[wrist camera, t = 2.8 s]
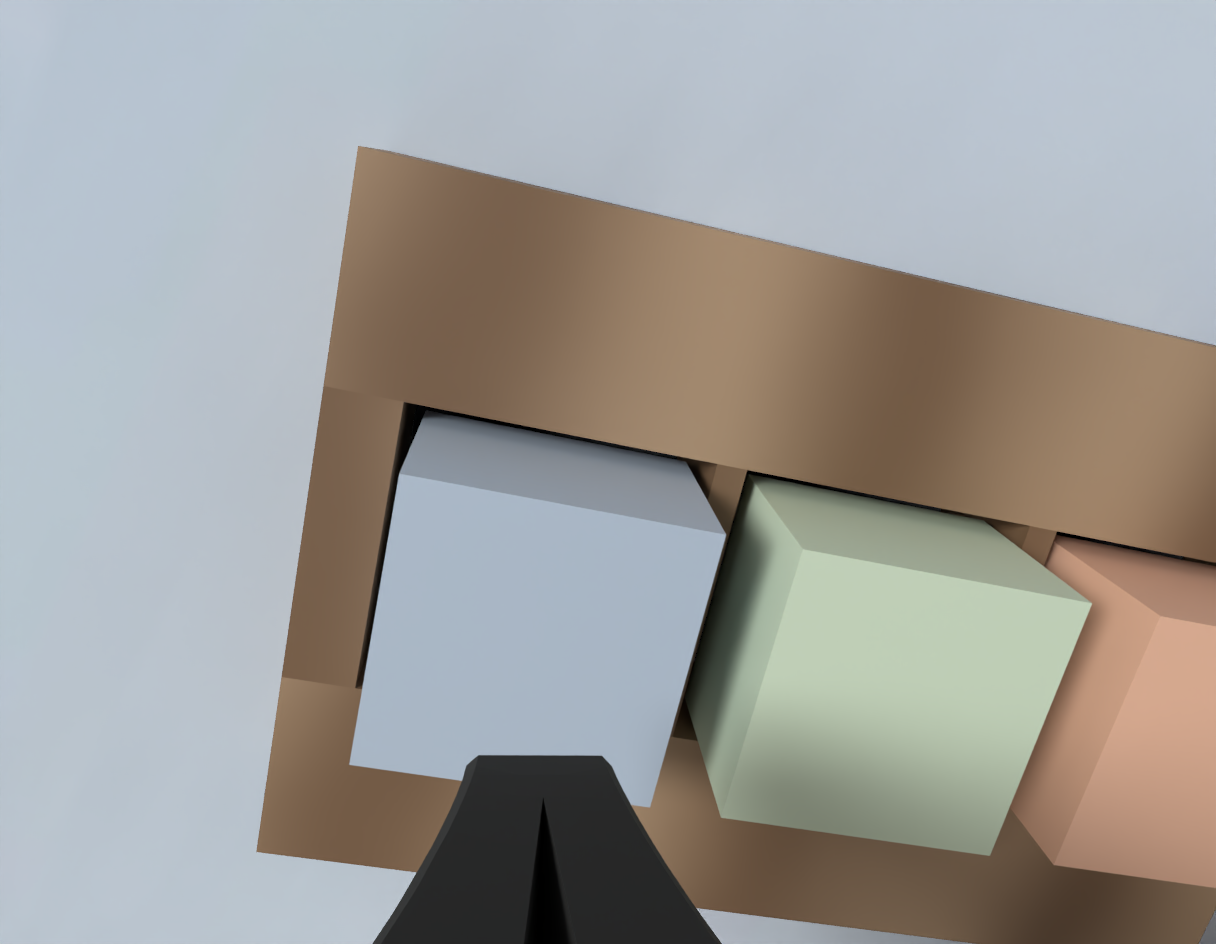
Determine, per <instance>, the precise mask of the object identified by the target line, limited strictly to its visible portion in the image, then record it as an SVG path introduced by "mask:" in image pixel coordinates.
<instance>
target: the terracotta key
mask: <svg viewBox="0 0 1216 944" xmlns="http://www.w3.org/2000/svg"><path fill="white" fill-rule="evenodd" d="M1044 567H1045V568H1046V569H1048V570H1049V571H1050V572H1052V573H1053V574H1054V575H1056V576H1057V577H1058V578H1060V579H1061V580H1062V581H1064V582H1065V583H1066V584H1067V585H1069V586H1070V587H1071V588H1073V589H1074V590H1075V591H1077V592H1078V593H1079V594H1081V595H1082V596H1083V597H1085V598H1086V599H1087V600H1089V601H1090V602H1091V603H1092V605H1091V608H1090V610H1089V613H1088V615H1087V618H1086V620H1085V622H1084V625H1083V627H1082V630H1081V632H1080V635H1079V637H1078V640H1077V642H1076V645H1075V647H1074V650H1073V652H1072V655H1071V657H1070V659H1069V662H1068V664H1067V667H1066V669H1065V672H1064V674H1063V677H1062V679H1061V682H1060V684H1059V687H1058V689H1057V692H1056V694H1055V696H1054V699H1053V701H1052V704H1051V706H1050V709H1049V711H1048V714H1047V716H1046V719H1045V721H1044V724H1043V726H1042V729H1041V731H1040V734H1039V736H1038V738H1037V741H1036V743H1035V746H1034V748H1033V751H1032V753H1031V756H1030V758H1029V761H1028V763H1027V766H1026V768H1025V771H1024V773H1023V775H1022V778H1021V780H1020V783H1019V785H1018V788H1017V790H1016V793H1015V795H1014V798H1013V800H1012V803H1011V805H1010V808H1011V810H1012V811H1013V812H1014V814H1015V815H1016V816H1017V818H1018V819H1019V820H1020V822H1021V823H1022V824H1023V825H1024V827H1025V828H1026V829H1027V831H1028V832H1029V833H1030V835H1031V836H1032V837H1033V839H1034V840H1035V841H1036V843H1037V844H1038V845H1039V846H1040V848H1041V849H1042V850H1043V852H1044V853H1045V854H1046V856H1047V857H1048V858H1049V860H1050V861H1051V862H1052V864H1053V865H1057V866H1064V867H1071V868H1078V869H1085V870H1092V871H1099V872H1106V873H1114V874H1121V875H1128V876H1135V877H1142V878H1149V879H1156V880H1163V881H1170V882H1177V883H1184V884H1191V885H1198V886H1205V887H1212V888H1216V566H1211V565H1206V564H1201V563H1196V562H1191V561H1186V560H1181V559H1176V558H1171V557H1166V556H1161V555H1156V554H1150V553H1145V552H1140V551H1135V550H1130V549H1125V548H1120V547H1115V546H1110V545H1105V544H1100V543H1095V542H1090V541H1085V540H1080V539H1075V538H1069V537H1064V536H1059V535H1055V538H1054V541H1053V543H1052V546H1051V548H1050V551H1049V554H1048V556H1047V559H1046V561H1045V564H1044Z"/></svg>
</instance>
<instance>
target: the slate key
mask: <svg viewBox="0 0 1216 944" xmlns="http://www.w3.org/2000/svg"><path fill="white" fill-rule="evenodd" d="M725 537H726V533H725V532H724V530H723V528H722V526H721V524H720V523H719V521H718V519H717V517H716V515H715V514H714V512H713V510H712V508H711V506H710V504H709V503H708V501H707V499H706V497H705V495H704V494H703V492H702V490H701V488H700V486H699V485H698V483H697V481H696V479H695V477H694V475H693V474H692V472H691V470H690V468H689V466H688V465H687V463H686V462H685V461H680V460H675V459H670V458H664V457H659V456H654V455H649V454H644V453H639V452H634V451H629V450H624V449H619V448H614V447H609V446H604V445H599V444H594V443H589V442H583V441H578V440H573V439H568V438H563V437H558V436H553V435H548V434H543V433H538V432H533V431H528V430H523V429H518V428H513V427H508V426H502V425H497V424H492V423H487V422H482V421H477V420H472V419H467V418H462V417H457V416H452V415H447V414H442V413H437V412H432V411H427V410H426V412H425V414H424V416H423V419H422V421H421V423H420V426H419V428H418V431H417V433H416V435H415V438H414V440H413V442H412V445H411V447H410V449H409V452H408V454H407V457H406V459H405V461H404V464H403V466H402V468H401V471H400V473H399V478H398V484H397V490H396V495H395V501H394V507H393V513H392V519H391V525H390V530H389V536H388V542H387V548H386V554H385V559H384V565H383V571H382V577H381V583H380V589H379V594H378V600H377V606H376V612H375V618H374V623H373V629H372V635H371V641H370V647H369V653H368V658H367V664H366V670H365V676H364V682H363V687H362V693H361V699H360V705H359V711H358V717H357V722H356V728H355V734H354V740H353V746H352V751H351V757H350V763H349V765H354V766H361V767H368V768H375V769H382V770H389V771H396V772H403V773H410V774H417V775H425V776H432V777H439V778H446V779H453V780H460V781H462V779H463V776H464V772H465V769H466V765H467V764H469V763H470V762H471V761H472V760H473V759H474V758H476V757H477V756H478V755H592V756H603V757H604V758H605V759H606V760H607V762H608V763H609V764H610V765H611V766H612V768H613V770H614V772H615V774H616V777H617V779H618V781H619V783H620V785H621V787H622V789H623V791H624V793H625V794H626V796H627V798H628V800H629V802H630V804H631V805H635V806H642V807H649V808H650V806H651V802H652V799H653V795H654V791H655V788H656V784H657V781H658V777H659V774H660V770H661V766H662V763H663V759H664V756H665V752H666V748H667V745H668V741H669V738H670V734H671V731H672V727H673V723H674V720H675V716H676V713H677V709H678V706H679V702H680V698H681V695H682V691H683V688H684V684H685V681H686V677H687V673H688V670H689V666H690V663H691V659H692V655H693V652H694V648H695V645H696V641H697V638H698V634H699V630H700V627H701V623H702V620H703V616H704V613H705V609H706V605H707V602H708V598H709V595H710V591H711V588H712V584H713V580H714V577H715V573H716V570H717V566H718V562H719V559H720V555H721V552H722V548H723V545H724V541H725Z"/></svg>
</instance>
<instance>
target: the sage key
mask: <svg viewBox="0 0 1216 944" xmlns="http://www.w3.org/2000/svg"><path fill="white" fill-rule="evenodd" d="M1091 605H1092V603H1091V602H1090V601H1089V600H1087V599H1086V598H1085V597H1083V596H1082V595H1081V594H1079V593H1078V592H1077V591H1075V590H1074V589H1073V588H1071V587H1070V586H1069V585H1067V584H1066V583H1065V582H1064V581H1062V580H1061V579H1060V578H1058V577H1057V576H1056V575H1054V574H1053V573H1052V572H1050V571H1049V570H1048V569H1046V568H1045V567H1044V566H1043V565H1041V564H1040V563H1039V562H1037V561H1036V560H1035V559H1033V558H1032V557H1031V556H1029V555H1028V554H1027V553H1025V552H1024V551H1023V550H1022V549H1020V548H1019V547H1018V546H1016V545H1015V544H1014V543H1012V542H1011V541H1010V540H1008V539H1007V538H1006V537H1004V536H1003V535H1002V534H1000V533H999V532H998V531H997V530H995V529H994V528H993V527H991V526H990V525H989V524H987V523H986V522H985V521H983V520H978V519H973V518H968V517H963V516H958V515H953V514H948V513H943V512H938V511H933V510H928V509H923V508H918V507H913V506H907V505H902V504H897V503H892V502H887V501H882V500H877V499H872V498H867V497H862V496H857V495H852V494H847V493H842V492H837V491H832V490H826V489H821V488H816V487H811V486H806V485H801V484H796V483H791V482H786V481H781V480H776V479H771V478H766V477H761V476H756V475H751V474H748V475H747V478H746V482H745V485H744V489H743V493H742V496H741V500H740V503H739V507H738V510H737V514H736V517H735V521H734V525H733V528H732V532H731V535H730V539H729V542H728V546H727V550H726V553H725V557H724V560H723V564H722V567H721V571H720V574H719V578H718V582H717V585H716V589H715V592H714V596H713V599H712V603H711V606H710V610H709V614H708V617H707V621H706V624H705V628H704V631H703V635H702V639H701V642H700V646H699V649H698V653H697V656H696V660H695V663H694V667H693V671H692V674H691V678H690V681H689V685H688V688H687V692H686V695H685V700H686V703H687V707H688V710H689V713H690V717H691V720H692V723H693V726H694V730H695V733H696V736H697V740H698V743H699V746H700V750H701V753H702V756H703V760H704V763H705V766H706V770H707V773H708V776H709V780H710V783H711V786H712V790H713V793H714V796H715V799H716V803H717V806H718V809H719V813H720V816H721V818H727V819H734V820H741V821H748V822H755V823H762V824H769V825H776V826H783V827H790V828H797V829H804V830H811V831H818V832H825V833H832V834H839V835H846V836H853V837H860V838H867V839H874V840H881V841H889V842H896V843H903V844H910V845H917V846H924V847H931V848H938V849H945V850H952V851H959V852H966V853H973V854H980V855H987V856H990V854H991V852H992V849H993V847H994V845H995V842H996V840H997V837H998V835H999V832H1000V830H1001V827H1002V825H1003V822H1004V820H1005V817H1006V815H1007V812H1008V810H1009V808H1010V805H1011V803H1012V800H1013V798H1014V795H1015V793H1016V790H1017V788H1018V785H1019V783H1020V780H1021V778H1022V775H1023V773H1024V771H1025V768H1026V766H1027V763H1028V761H1029V758H1030V756H1031V753H1032V751H1033V748H1034V746H1035V743H1036V741H1037V738H1038V736H1039V734H1040V731H1041V729H1042V726H1043V724H1044V721H1045V719H1046V716H1047V714H1048V711H1049V709H1050V706H1051V704H1052V701H1053V699H1054V696H1055V694H1056V692H1057V689H1058V687H1059V684H1060V682H1061V679H1062V677H1063V674H1064V672H1065V669H1066V667H1067V664H1068V662H1069V659H1070V657H1071V655H1072V652H1073V650H1074V647H1075V645H1076V642H1077V640H1078V637H1079V635H1080V632H1081V630H1082V627H1083V625H1084V622H1085V620H1086V618H1087V615H1088V613H1089V610H1090V608H1091Z"/></svg>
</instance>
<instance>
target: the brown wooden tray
mask: <svg viewBox="0 0 1216 944" xmlns="http://www.w3.org/2000/svg"><path fill="white" fill-rule="evenodd" d="M417 405H422V406H427V407H432V408H437V409H442V410H447V411H452V412H458V413H463V414H468V415H473V416H478V417H483V418H488V419H493V420H498V421H503V422H508V423H513V424H518V425H523V426H528V427H533V428H538V429H543V430H548V431H553V432H558V433H564V434H569V435H574V436H579V437H584V438H589V439H594V440H599V441H604V442H609V443H614V444H619V445H624V446H629V447H634V448H639V449H644V450H649V451H654V452H659V453H664V454H669V455H675V456H677V460H680V461H685V462H686V463H687V465H688V466H689V468H690V470H691V472H692V474H693V475H694V477H695V479H696V481H697V483H698V485H699V486H700V488H701V490H702V492H703V494H704V495H705V497H706V499H707V501H708V503H709V504H710V506H711V508H712V510H713V512H714V514H715V515H716V517H717V519H718V521H719V523H720V524H721V526H722V528H723V530H724V532H725V533H726V537H725V541H724V545H723V548H722V552H721V555H720V559H719V562H718V566H717V570H716V573H715V577H714V580H713V584H712V588H711V591H710V595H709V598H708V602H707V605H706V609H705V613H704V616H703V620H702V623H701V627H700V630H699V634H698V638H697V641H696V645H695V648H694V652H693V655H692V659H691V663H690V666H689V670H688V673H687V677H686V681H685V684H684V688H683V691H682V695H681V698H680V702H679V706H678V709H677V713H676V716H675V720H674V723H673V727H672V731H671V734H670V738H669V741H668V745H667V748H666V752H665V756H664V759H663V763H662V766H661V770H660V774H659V777H658V781H657V784H656V788H655V791H654V795H653V799H652V802H651V806H650V808H649V807H642V806H635V805H631V806H632V807H633V809H634V811H635V813H636V815H637V816H638V818H639V820H640V822H641V823H642V825H643V827H644V828H645V830H646V832H647V833H648V835H649V837H650V838H651V840H652V842H653V844H654V845H655V847H656V848H657V850H658V852H659V853H660V855H661V856H662V858H663V859H664V861H665V863H666V864H667V866H668V867H669V869H670V870H671V872H672V873H673V875H674V876H675V878H676V879H677V881H678V882H679V884H680V885H681V887H682V888H683V889H684V891H685V892H686V894H687V895H688V897H689V898H690V900H691V901H692V903H693V904H694V906H695V907H696V908H701V909H709V910H717V911H725V912H732V913H740V914H748V915H756V916H764V917H772V918H779V919H787V920H795V921H803V922H811V923H819V924H827V925H834V926H842V927H850V928H858V929H866V930H874V931H881V932H889V933H897V934H905V935H913V936H921V937H929V938H936V939H944V940H952V941H960V942H968V943H976V944H1199V941H1200V939H1201V937H1202V935H1203V933H1204V931H1205V929H1206V927H1207V925H1208V923H1209V921H1210V919H1211V917H1212V915H1213V913H1214V911H1215V909H1216V888H1212V887H1205V886H1198V885H1191V884H1184V883H1177V882H1170V881H1163V880H1156V879H1149V878H1142V877H1135V876H1128V875H1121V874H1114V873H1106V872H1099V871H1092V870H1085V869H1078V868H1071V867H1064V866H1057V865H1053V864H1052V862H1051V861H1050V860H1049V858H1048V857H1047V856H1046V854H1045V853H1044V852H1043V850H1042V849H1041V848H1040V846H1039V845H1038V844H1037V843H1036V841H1035V840H1034V839H1033V837H1032V836H1031V835H1030V833H1029V832H1028V831H1027V829H1026V828H1025V827H1024V825H1023V824H1022V823H1021V822H1020V820H1019V819H1018V818H1017V816H1016V815H1015V814H1014V812H1013V811H1012V810H1011V808H1009V810H1008V812H1007V815H1006V817H1005V820H1004V822H1003V825H1002V827H1001V830H1000V832H999V835H998V837H997V840H996V842H995V845H994V847H993V849H992V852H991V854H990V856H987V855H980V854H973V853H966V852H959V851H952V850H945V849H938V848H931V847H924V846H917V845H910V844H903V843H896V842H889V841H881V840H874V839H867V838H860V837H853V836H846V835H839V834H832V833H825V832H818V831H811V830H804V829H797V828H790V827H783V826H776V825H769V824H762V823H755V822H748V821H741V820H734V819H727V818H721V816H720V813H719V809H718V806H717V803H716V799H715V796H714V793H713V790H712V786H711V783H710V780H709V776H708V773H707V770H706V766H705V763H704V760H703V756H702V753H701V750H700V746H699V743H698V740H697V736H696V733H695V730H694V726H693V723H692V720H691V717H690V713H689V710H688V707H687V703H686V700H685V695H686V692H687V688H688V685H689V681H690V678H691V674H692V671H693V667H694V663H695V661H694V658H695V655H696V651H697V648H698V644H699V640H700V637H701V633H702V630H703V626H704V623H705V619H706V616H707V612H708V608H709V605H710V601H711V598H712V594H713V591H714V587H715V583H716V580H717V576H718V573H719V569H720V566H721V562H722V558H723V555H724V551H725V548H726V544H727V541H728V537H729V534H730V530H731V526H732V523H733V519H734V516H735V512H736V509H737V505H738V501H739V498H740V494H741V491H742V487H743V484H744V480H745V476H746V473H747V470H750V471H755V472H760V473H765V474H770V475H775V476H781V477H786V478H791V479H796V480H801V481H806V482H811V483H816V484H821V485H826V486H831V487H836V488H841V489H846V490H851V491H856V492H861V493H866V494H871V495H876V496H881V497H886V498H892V499H897V500H902V501H907V502H912V503H917V504H922V505H927V506H932V507H937V508H941V510H940V512H943V513H948V514H953V515H958V516H963V517H968V518H973V519H978V520H983V521H985V522H986V523H987V524H989V525H990V526H991V527H993V528H994V529H995V530H997V531H998V532H999V533H1000V534H1002V535H1003V536H1004V537H1006V538H1007V539H1008V540H1010V541H1011V542H1012V543H1014V544H1015V545H1016V546H1018V547H1019V548H1020V549H1022V550H1023V551H1024V552H1025V553H1027V554H1028V555H1029V556H1031V557H1032V558H1033V559H1035V560H1036V561H1037V562H1039V563H1040V564H1041V565H1043V566H1044V564H1045V561H1046V559H1047V556H1048V554H1049V551H1050V548H1051V546H1052V543H1053V541H1054V538H1055V535H1056V533H1057V531H1058V532H1063V533H1068V534H1073V535H1078V536H1083V537H1088V538H1093V539H1098V540H1103V541H1109V542H1114V543H1119V544H1124V545H1129V546H1134V547H1139V548H1144V549H1149V550H1154V551H1159V552H1164V553H1169V554H1174V555H1179V556H1184V557H1183V560H1186V561H1191V562H1196V563H1201V564H1206V565H1211V566H1216V346H1215V345H1211V344H1206V343H1202V342H1198V341H1194V340H1189V339H1185V338H1181V337H1177V336H1172V335H1168V334H1164V333H1160V332H1155V331H1151V330H1147V329H1143V328H1138V327H1134V326H1130V325H1126V324H1121V323H1117V322H1113V321H1109V320H1104V319H1100V318H1096V317H1092V316H1087V315H1083V314H1079V313H1075V312H1070V311H1066V310H1062V309H1058V308H1053V307H1049V306H1045V305H1041V304H1036V303H1032V302H1028V301H1024V300H1019V299H1015V298H1011V297H1007V296H1002V295H998V294H994V293H990V292H985V291H981V290H977V289H973V288H969V287H964V286H960V285H956V284H952V283H947V282H943V281H939V280H935V279H930V278H926V277H922V276H918V275H913V274H909V273H905V272H901V271H896V270H892V269H888V268H884V267H879V266H875V265H871V264H867V263H862V262H858V261H854V260H850V259H845V258H841V257H837V256H833V255H828V254H824V253H820V252H816V251H811V250H807V249H803V248H799V247H794V246H790V245H786V244H782V243H777V242H773V241H769V240H765V239H760V238H756V237H752V236H748V235H743V234H739V233H735V232H731V231H726V230H722V229H718V228H714V227H709V226H705V225H701V224H697V223H692V222H688V221H684V220H680V219H675V218H671V217H667V216H663V215H658V214H654V213H650V212H646V211H641V210H637V209H633V208H629V207H625V206H620V205H616V204H612V203H608V202H603V201H599V200H595V199H591V198H586V197H582V196H578V195H574V194H569V193H565V192H561V191H557V190H552V189H548V188H544V187H540V186H535V185H531V184H527V183H523V182H518V181H514V180H510V179H506V178H501V177H497V176H493V175H489V174H484V173H480V172H476V171H472V170H467V169H463V168H459V167H455V166H450V165H446V164H442V163H438V162H433V161H429V160H425V159H421V158H416V157H412V156H408V155H404V154H399V153H395V152H391V151H386V150H380V149H373V148H367V147H361V146H358V151H357V158H356V165H355V172H354V179H353V186H352V193H351V200H350V207H349V214H348V221H347V228H346V234H345V241H344V248H343V255H342V262H341V269H340V276H339V283H338V290H337V297H336V304H335V311H334V318H333V325H332V332H331V338H330V345H329V352H328V359H327V366H326V373H325V380H324V387H323V394H322V401H321V408H320V415H319V422H318V429H317V436H316V442H315V449H314V456H313V463H312V470H311V477H310V484H309V491H308V498H307V505H306V512H305V519H304V526H303V533H302V540H301V546H300V553H299V560H298V567H297V574H296V581H295V588H294V595H293V602H292V609H291V616H290V623H289V630H288V637H287V644H286V650H285V657H284V664H283V671H282V678H281V685H280V692H279V699H278V706H277V713H276V720H275V727H274V734H273V741H272V748H271V754H270V761H269V768H268V775H267V782H266V789H265V796H264V803H263V810H262V817H261V824H260V831H259V838H258V845H257V852H262V853H269V854H277V855H285V856H293V857H301V858H309V859H316V860H324V861H332V862H340V863H348V864H356V865H364V866H371V867H379V868H387V869H395V870H403V871H411V872H417V871H418V870H419V868H420V866H421V864H422V863H423V861H424V859H425V857H426V856H427V854H428V852H429V850H430V849H431V847H432V845H433V843H434V841H435V839H436V837H437V835H438V833H439V831H440V829H441V827H442V825H443V823H444V821H445V819H446V817H447V815H448V813H449V811H450V809H451V806H452V804H453V802H454V800H455V797H456V795H457V792H458V790H459V787H460V785H461V782H462V781H460V780H453V779H446V778H439V777H432V776H425V775H417V774H410V773H403V772H396V771H389V770H382V769H375V768H368V767H361V766H354V765H349V763H350V757H351V751H352V746H353V740H354V734H355V728H356V722H357V717H358V711H359V705H360V699H361V693H362V687H363V682H364V676H365V670H366V664H367V658H368V653H369V647H370V641H371V635H372V629H373V623H374V618H375V612H376V606H377V600H378V594H379V589H380V583H381V577H382V571H383V565H384V559H385V554H386V548H387V542H388V536H389V530H390V525H391V519H392V513H393V507H394V501H395V495H396V490H397V484H398V478H399V473H400V471H401V468H402V466H403V464H404V461H405V459H406V457H407V454H408V452H409V448H410V442H411V436H412V430H413V425H414V419H415V413H416V407H417Z"/></svg>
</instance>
